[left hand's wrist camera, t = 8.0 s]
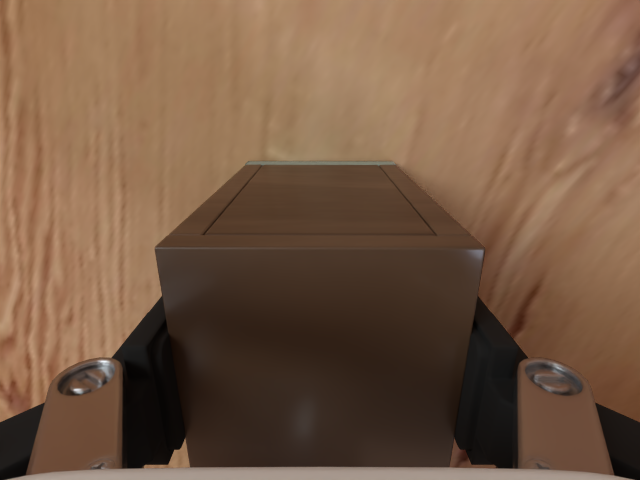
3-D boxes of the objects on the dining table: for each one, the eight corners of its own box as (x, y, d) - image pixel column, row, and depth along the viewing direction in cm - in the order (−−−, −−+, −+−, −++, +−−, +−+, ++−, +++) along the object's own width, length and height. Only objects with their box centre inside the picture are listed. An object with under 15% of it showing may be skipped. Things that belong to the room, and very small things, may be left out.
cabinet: (374, 441, 23) (412, 693, 14) (266, 440, 23) (226, 692, 14) (393, 161, 17) (487, 247, 8) (248, 161, 18) (152, 246, 8)
